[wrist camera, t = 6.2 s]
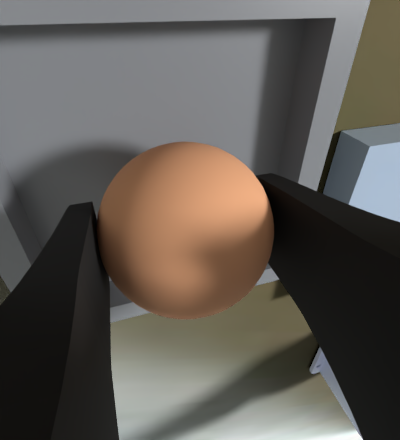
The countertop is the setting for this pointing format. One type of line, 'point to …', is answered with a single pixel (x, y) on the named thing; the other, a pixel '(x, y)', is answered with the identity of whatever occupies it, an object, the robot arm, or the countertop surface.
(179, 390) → the countertop surface
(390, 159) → the dish
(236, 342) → the countertop surface
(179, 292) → the ball
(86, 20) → the tray
